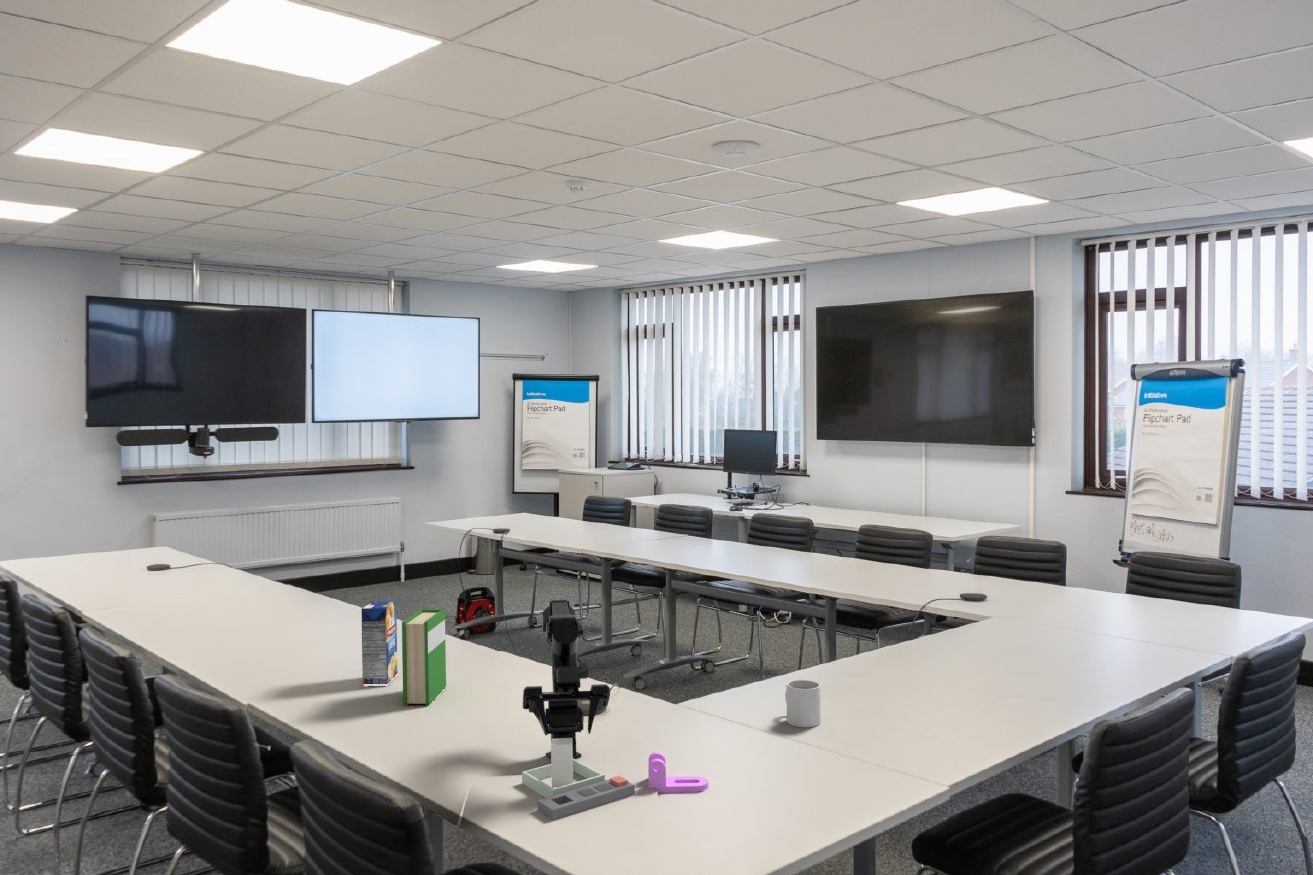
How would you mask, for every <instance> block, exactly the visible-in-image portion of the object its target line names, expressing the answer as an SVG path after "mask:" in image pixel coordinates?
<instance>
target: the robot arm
mask: <svg viewBox="0 0 1313 875" xmlns="http://www.w3.org/2000/svg"><path fill="white" fill-rule="evenodd" d="M548 604H549V605H548V606H547V607H546V608H545V609H544V610H543V611H542V612H541V613H542V614H541V616H542V617H541V619H542V620H541V621H542V633H544V634H545V635H544V636H545V637H544V638H545V642H546V643H547V644H548V645H549V646H550V647H551V651H550V652H551V673H552V674H551V675H552V677H551V678H552V691H543V686H542V685H539V686H538V685H537V686H536V685H534V686H531V685H529V686H525V688H523V691H522V692H523V693H522V709H524V710H528V712H529V713H530V714H531V713H533V715H534V716H535V717H536V719H537V721H538V723H539V724H540V727H541V729H542V732H543V733H544V735H545V736H548V735H550V740H551V739H560V738H572V746H573V759H577V758H581V757H582V756H583V755H582V753H580V752H578V751H577V737H576V736H577V735H576V734H577V733H582V731H583V730H584V722H585V721H584V720H585V718H584V717H585V712H584V711H583V710H582V706H581V705H580V706H579V704H578V702H579V701H589V705H588V714H587V715H588V718H587V719H588V720H587V734H588V735H590V734H591V731H592V728H593V723H594V720H595V718H596V715H597V713H598V711H601V710H603V708H605V707H608V706H609V700H610V698H611V689H610V686H609V685H608V684H607V683H606V684H605V683H604V684H603V683H602V684H599V683H598V684H591V686H590V690H580V688H581V680H585V679H588V678H589V663H588V662H580V663H578V654H577V653H578V652H577V651H578V646H579V645H578V644H579V638H581V637H582V636H583V635H584V628H583V626H582V624H581V622H580V621H579V620H577V616H576V610H575V608H573V607H572V606H570V600H567V599H553V600H552V599H551V600H549V603H548ZM545 702H547V706H548V707H545ZM545 756H546V757H548V758H549V759H551V751H548V752H545Z"/></svg>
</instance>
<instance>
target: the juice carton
mask: <svg viewBox="0 0 1313 875" xmlns="http://www.w3.org/2000/svg"><path fill="white" fill-rule="evenodd" d="M360 612H361V653H362V654H361V656H362V657H361V658H362V659H361V660H362V661H361V662H362V665H361V666H362V685H363V684H388V683H389V682H390V681H391V679H392V678H394V677H395V675H396V674H397V673H398V632H397V631H398V626H397V625H398V624H397V620H398V618H397V617H398V616H397V614H398V613H397V600H372V601H370V602H369V603H367V604H366V605H365V606H363V607H361V611H360Z"/></svg>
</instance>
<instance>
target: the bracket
mask: <svg viewBox="0 0 1313 875" xmlns="http://www.w3.org/2000/svg"><path fill="white" fill-rule="evenodd" d="M666 766H667V765H666V757H665V755H664V754H663V753H662V752H661V751H654V752H652V753H651V754H649V757H648V768H647V770H648V774H647V775H648V789H656V791H657V792H656V793H658V792H662V793H696V792H695V791H701V792H704V791H703V790H705V789H707V790H709V779H707V778H706V777H704V776H698V775H697V776H695V775H694V776H693V775H692V776H690V775H688V776H686V775H685V776H683V775H682V776H681V775H680V776H667V773H666V772H667V770H666V768H667V767H666ZM705 791H706V790H705Z"/></svg>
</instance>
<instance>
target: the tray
mask: <svg viewBox="0 0 1313 875" xmlns="http://www.w3.org/2000/svg"><path fill="white" fill-rule="evenodd" d="M573 773H575V774H577V775H579V776H581V777H583V778H585V779H582V780H579V781H576V782H575V781H574V782H573V783H571V784H568V785H564V786H561V787H558V788H557V787H554V788H552V786H550V785H548V784H547V783H545V782H544V781H542V780H543V779H547V778H552V772H551V763H549V764H546V765H542V766H539V767H536V768H535V767H534V768H531V769H527V770H524V771H521V781H522V782H521V784H523V785H524V786H526V787H528V788H529V789H530V790H532V791H534V792H536V793H537V794H538V795H540V796H542V797H543V798H548V797H551V796H554V795H558V794H561V793H565V792H568V791H571V790H575V789H578V788H581V787H585V786H588V785H592V784H595V783H598V782H602V781H605V780H606V775H605V774H603V773H601V772H600V771H598V770H597V769H594V768H593V767H590V766H588V765H587V764H585V763H583V762H581V761H579V760H577V759H576V758H574V759H573Z"/></svg>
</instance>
